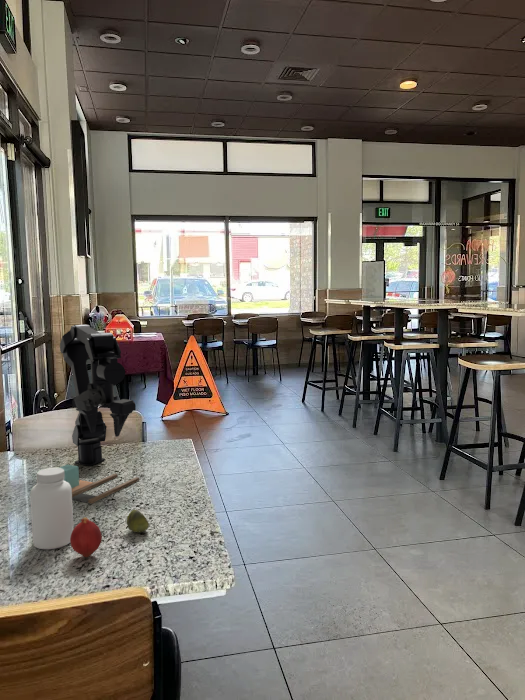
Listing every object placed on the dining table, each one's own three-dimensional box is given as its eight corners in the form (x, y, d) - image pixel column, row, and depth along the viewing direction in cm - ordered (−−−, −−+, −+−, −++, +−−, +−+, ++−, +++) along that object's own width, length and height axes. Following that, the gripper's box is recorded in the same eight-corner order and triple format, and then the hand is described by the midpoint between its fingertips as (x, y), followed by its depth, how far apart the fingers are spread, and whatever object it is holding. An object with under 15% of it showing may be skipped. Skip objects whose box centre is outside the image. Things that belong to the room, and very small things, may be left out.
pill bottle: (82, 536, 118) (78, 467, 116) (56, 553, 110) (52, 479, 108) (51, 531, 120) (47, 463, 119) (24, 547, 113) (19, 475, 111)
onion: (75, 550, 111) (73, 511, 110) (105, 548, 112) (103, 510, 111) (68, 564, 105) (65, 524, 105) (99, 563, 106) (97, 522, 105)
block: (56, 487, 145) (55, 468, 144) (68, 482, 148) (67, 464, 148) (67, 489, 143) (66, 470, 142) (79, 485, 146) (78, 466, 146)
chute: (65, 498, 139) (65, 495, 139) (114, 476, 155) (114, 473, 155) (91, 503, 136) (91, 500, 135) (139, 480, 152) (139, 477, 151)
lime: (129, 527, 122) (128, 505, 121) (151, 527, 121) (151, 505, 121) (124, 536, 117) (123, 513, 117) (147, 536, 117) (146, 513, 116)
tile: (48, 490, 145) (47, 487, 145) (71, 481, 152) (71, 478, 152) (70, 495, 141) (70, 492, 141) (93, 485, 148) (93, 482, 148)
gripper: (55, 380, 150) (57, 437, 152) (105, 386, 141) (108, 446, 143) (86, 374, 160) (89, 427, 162) (136, 379, 151) (137, 436, 153)
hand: (104, 434), depth 155 cm, fingers open, 9 cm apart
